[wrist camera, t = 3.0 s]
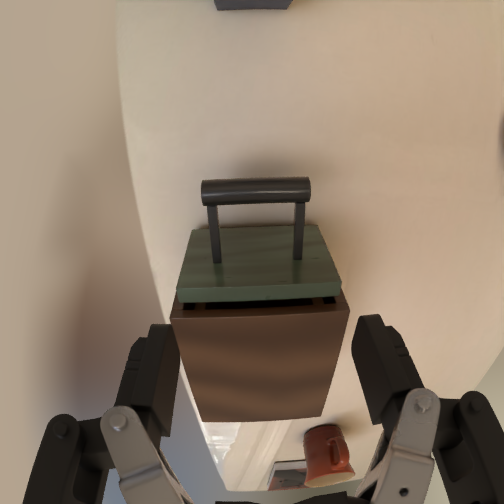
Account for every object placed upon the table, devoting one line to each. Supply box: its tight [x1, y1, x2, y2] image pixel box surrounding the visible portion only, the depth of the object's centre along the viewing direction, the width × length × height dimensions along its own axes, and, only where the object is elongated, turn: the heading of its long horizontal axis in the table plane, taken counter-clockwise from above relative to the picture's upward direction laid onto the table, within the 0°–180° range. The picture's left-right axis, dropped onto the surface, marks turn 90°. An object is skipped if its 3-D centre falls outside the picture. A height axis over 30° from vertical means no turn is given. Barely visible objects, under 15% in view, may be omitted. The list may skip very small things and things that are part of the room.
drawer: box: [176, 177, 342, 310], centre depth 24 cm, size 19×10×8 cm, turn 2°
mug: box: [303, 425, 355, 487], centre depth 44 cm, size 12×9×10 cm
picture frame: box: [267, 461, 309, 491], centre depth 62 cm, size 16×2×22 cm
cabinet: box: [170, 289, 350, 422], centre depth 27 cm, size 15×12×10 cm
